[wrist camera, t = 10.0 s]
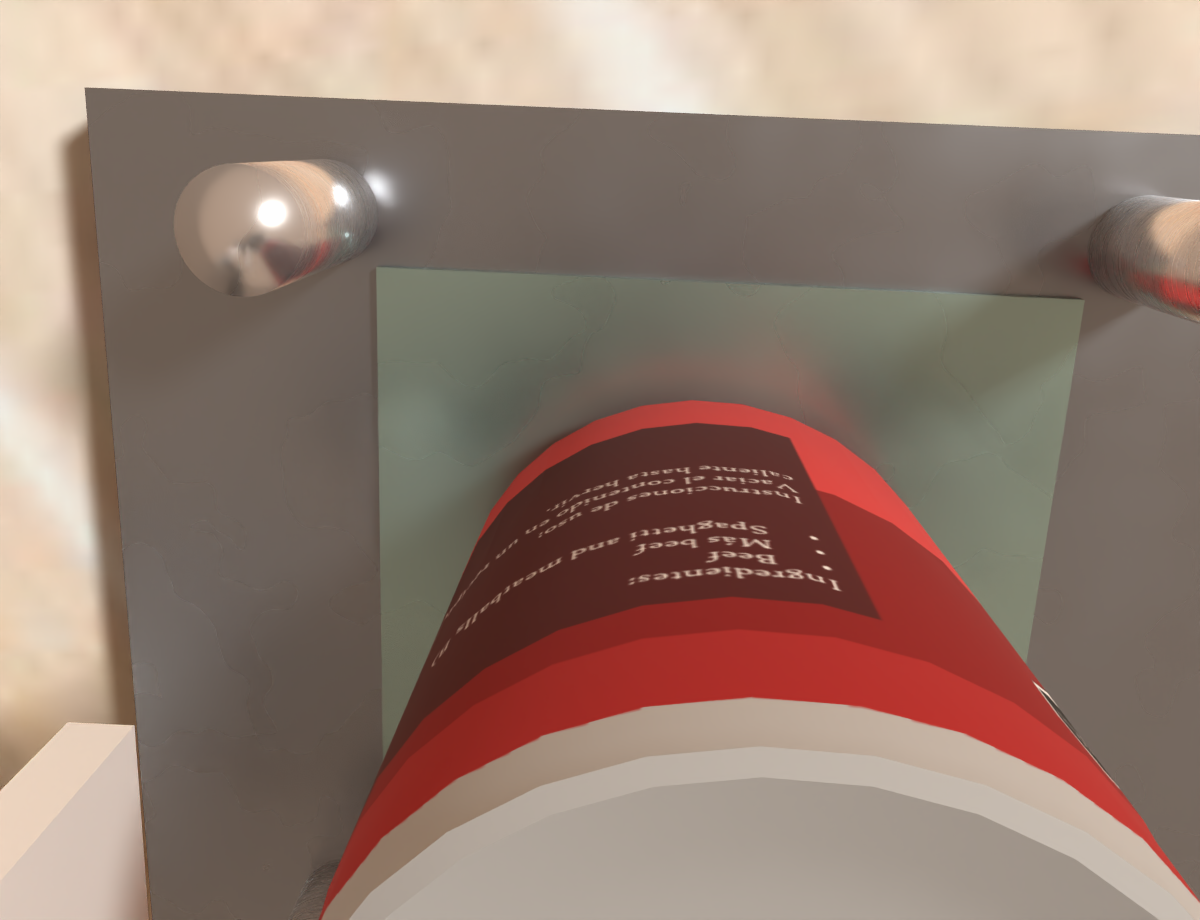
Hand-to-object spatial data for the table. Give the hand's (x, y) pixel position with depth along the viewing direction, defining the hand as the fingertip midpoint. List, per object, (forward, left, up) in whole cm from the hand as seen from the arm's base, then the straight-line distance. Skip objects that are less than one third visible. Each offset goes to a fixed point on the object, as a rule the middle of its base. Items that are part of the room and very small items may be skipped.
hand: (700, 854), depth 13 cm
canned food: (0, 0, -7) cm, 7 cm away
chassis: (0, 0, -8) cm, 8 cm away
